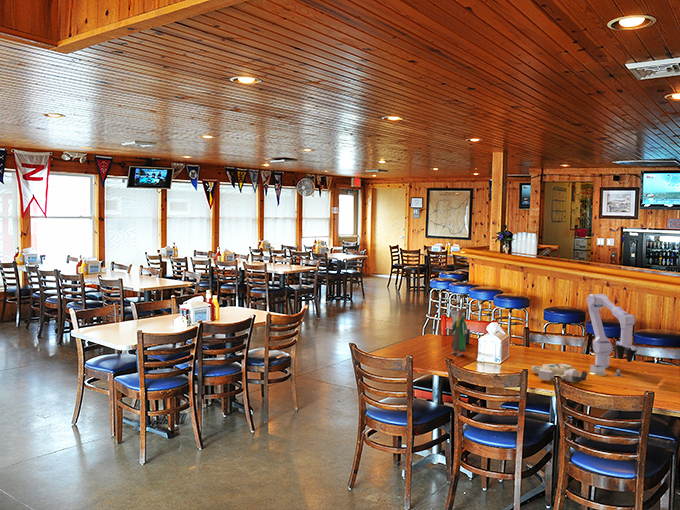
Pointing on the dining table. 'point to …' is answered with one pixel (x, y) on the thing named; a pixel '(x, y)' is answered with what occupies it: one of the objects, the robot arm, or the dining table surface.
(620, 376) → the stand
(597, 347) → the robot arm
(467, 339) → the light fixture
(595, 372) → the collar
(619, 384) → the dining table surface
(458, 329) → the figurine
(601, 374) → the hub
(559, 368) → the toy
